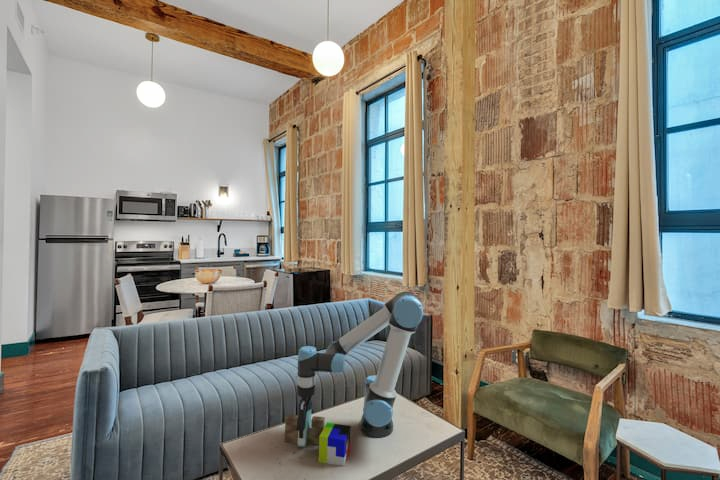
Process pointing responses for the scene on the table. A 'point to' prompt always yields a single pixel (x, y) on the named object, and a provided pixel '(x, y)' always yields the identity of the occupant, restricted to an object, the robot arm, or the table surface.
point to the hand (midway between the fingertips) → (304, 436)
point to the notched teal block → (307, 426)
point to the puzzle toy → (334, 444)
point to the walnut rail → (312, 432)
